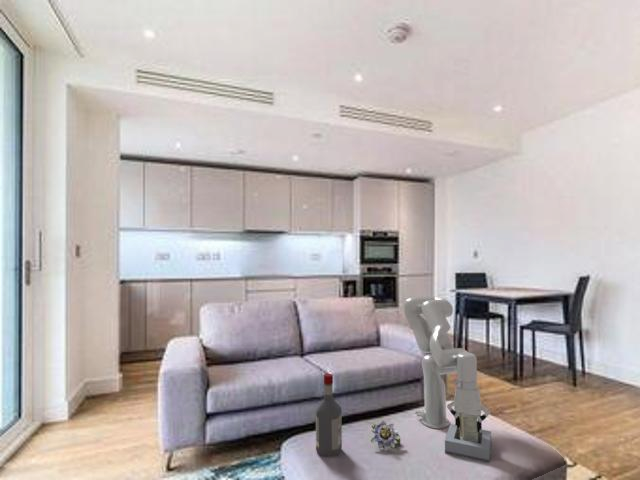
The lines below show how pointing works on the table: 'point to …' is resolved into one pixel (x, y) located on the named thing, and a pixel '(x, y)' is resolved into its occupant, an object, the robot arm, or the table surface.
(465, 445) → the socket block
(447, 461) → the table surface
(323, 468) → the table surface
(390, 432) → the passion flower
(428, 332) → the robot arm
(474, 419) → the skincare box
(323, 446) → the liquor
